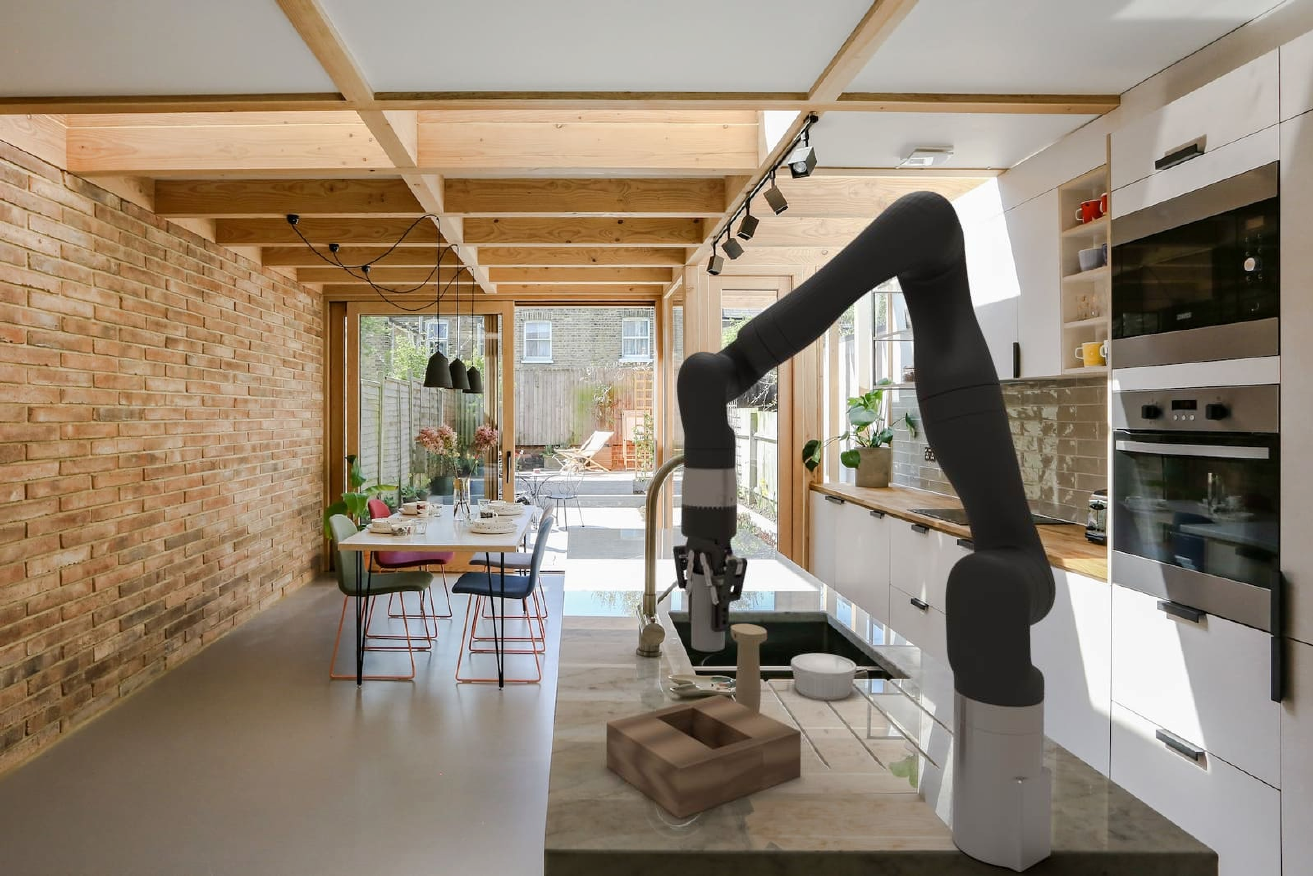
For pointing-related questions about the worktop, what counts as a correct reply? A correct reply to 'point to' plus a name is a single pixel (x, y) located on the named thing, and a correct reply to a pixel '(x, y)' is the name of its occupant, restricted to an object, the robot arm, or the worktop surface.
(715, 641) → the grey cylinder
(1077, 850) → the worktop surface
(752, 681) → the handle
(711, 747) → the well block
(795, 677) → the ramekin
